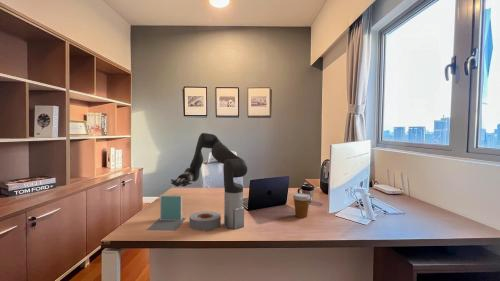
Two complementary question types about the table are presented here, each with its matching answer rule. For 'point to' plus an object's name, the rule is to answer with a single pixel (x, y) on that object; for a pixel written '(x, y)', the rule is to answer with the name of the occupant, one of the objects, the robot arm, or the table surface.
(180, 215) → the tile
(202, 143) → the robot arm
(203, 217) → the tape roll
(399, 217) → the table surface
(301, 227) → the table surface
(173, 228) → the mat
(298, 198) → the disposable coffee cup
